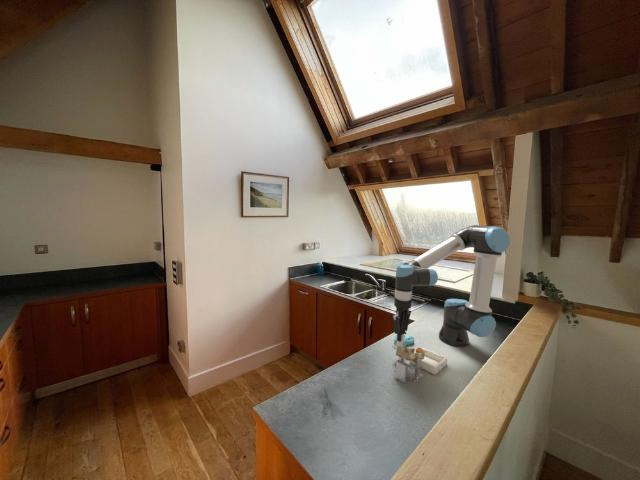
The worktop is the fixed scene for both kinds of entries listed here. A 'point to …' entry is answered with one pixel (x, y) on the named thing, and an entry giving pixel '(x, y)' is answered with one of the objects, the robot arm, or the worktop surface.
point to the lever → (408, 353)
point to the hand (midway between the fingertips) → (399, 346)
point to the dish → (432, 362)
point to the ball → (419, 350)
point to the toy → (405, 341)
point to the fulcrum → (407, 371)
